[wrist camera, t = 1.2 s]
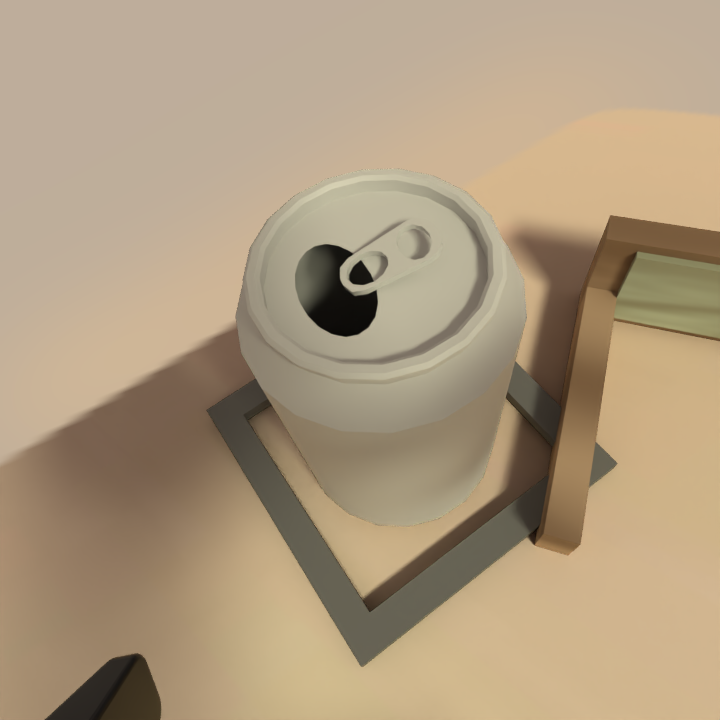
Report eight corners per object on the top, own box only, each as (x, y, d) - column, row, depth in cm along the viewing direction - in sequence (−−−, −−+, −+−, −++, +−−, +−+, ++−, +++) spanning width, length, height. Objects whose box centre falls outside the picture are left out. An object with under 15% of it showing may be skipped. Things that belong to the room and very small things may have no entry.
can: (286, 401, 25) (181, 206, 15) (440, 337, 26) (444, 107, 15) (348, 564, 21) (267, 461, 11) (525, 484, 22) (608, 315, 12)
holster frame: (612, 468, 22) (617, 463, 21) (363, 666, 20) (361, 666, 19) (424, 277, 27) (424, 270, 27) (211, 415, 25) (206, 410, 24)
